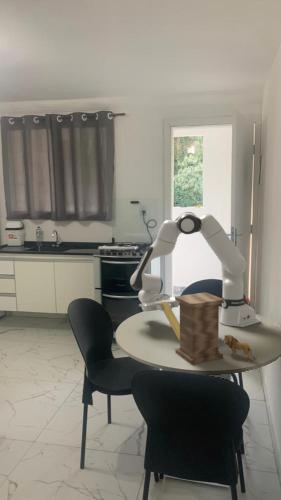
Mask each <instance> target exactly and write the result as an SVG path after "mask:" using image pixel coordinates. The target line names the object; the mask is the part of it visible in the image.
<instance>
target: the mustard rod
mask: <svg viewBox="0 0 281 500" xmlns="http://www.w3.org/2000/svg"><path fill="white" fill-rule="evenodd" d="M161 306H163V307H164V310H163V311H162V312H163V314H164V316H165V317H166V319H167V321H168V323H169V324H170V326H171V328H172V331H173V332H174V334H175V336H176V337H177V339H178V341H179V342H180V321H179V320H178V318H177V317H176V315H175V313H174V311H173V310H172V309H171V308H170V306H169V304H168V303H167V302H162V303H161Z"/></svg>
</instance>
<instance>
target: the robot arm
mask: <svg viewBox="0 0 281 500" xmlns="http://www.w3.org/2000/svg"><path fill="white" fill-rule="evenodd" d="M195 233H200V234H201V235H202V237H203V238H204V240H205V241H206V243H207V244H208V245H209V247H210V249H211V251H213V253H214V254H215V255H216V256H215V257H217V258H218V260H219V262H220V263H221V264H220V266H221V278H222V296H221V299H224V303H222V304H221V311H220V312H221V314H220V317H219V323H220V324H221V325H225V326H230V327H238V328H239V327H240V328H244V327H248V326H251V325H255V324H258V323H260V322H261V320H260V318H259V317H257V314H256V310H255V309H254V308H253V307H251V306H250V305H248V304H247V303H249V302H250V298H249V297H244V279H243V273H244V272H245V271H246V270H247V269H246V268H247V261H246V259H245V258H244V256H243V254H242V253H241V252H240V250H239V249H238V247H236V245H235V243H234V242H233V241H232V240H231V238H230V237H229V235H228V234H227V232H226V231H225V229H224V228H223V226H222V225H221V224H220V222H219V221H218V220H217V219H216V218H215V217H214V216H213V214H210V213H206V214H203V215H202V216H197V215H196V214H195V213H194V212H191V211H185V212H183V213H181V214H180V215H179V216H178V217H177V218H176V219H175V220H171V219H166V220H164V221H163V222H162V224H161V226H160V227H159V230H158V232H157V235H156V238H155V240H154V242H153V243H152V244H151V245H148V246H147V247H146V249H145V251H144V252H143V255H142V256H141V259H140V261H139V263H138V264H137V266H136V269H135V270H134V272H133V273H132V275H130V279H129V285H130V287H131V288H132V289H133V290H134V291H139V292H138V300H139V302H140V303H139V304H138V307H140V308H141V309H142V311H143V312H154V311H162V312H163V310H164V307H163V306H161V303H162V302H167V303H168V304H169V306H170V308H171V310H172V309H174V308H178V307H180V302H178V301H176V300H175V296H171V295H170V294H169V293H168V294H165V293H164V294H162V292H163V288H164V282H163V279H162V277H161V276H160V275H157V274H153V273H152V274H151V273H145V272H146V270H147V269H148V267H149V265H150V263H151V262H152V260H154V259H157V258H161V257H166V256H168V255H170V254H172V253H173V251H174V249H175V247H176V244H177V241H178V238H179V236H180V235H181V234H183V235H191V234H192V235H193V234H195ZM246 302H247V303H246Z"/></svg>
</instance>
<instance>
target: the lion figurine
mask: <svg viewBox="0 0 281 500" xmlns="http://www.w3.org/2000/svg"><path fill="white" fill-rule="evenodd" d="M223 338H224V340H223V343H224V345H226V346H227V347H228V349H231V352H232V354H230V356H231V357H235V355H236V354H237V351H238V352H244V355H245V358H247V361H248V362H251V360H252V359H253V360H254V361H256V360H257V358H255V357H254V356H253V355H254V354H253V352H252V349H251V346H250V344H248V343H246V342H245V343H243V342H240V341H239V339H237V338H236V337H234V336H233V335H231V334H226V335H224V337H223Z"/></svg>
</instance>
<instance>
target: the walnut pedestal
mask: <svg viewBox="0 0 281 500" xmlns="http://www.w3.org/2000/svg"><path fill="white" fill-rule="evenodd" d="M174 298H175V300H176V301H178V302H179V324H180V341H179V348H175V349H174V351H175V354H177V355H178V356H180V357H181V358H182V359H184V361H186V362H187V363H189V364H190V365H195V364H199V363H204V362H208V361H214V360H217V359H223V358H224V354H223V352H221V351H219V331H220V329H219V328H220V327H219V326H220V325H219V323H220V322H219V320H220V317H219V316H220V315H219V314H220V313H219V311H220V310H219V309H220V307H219V305H220V304H221V305H222V303H224V299H222V297H219V296H216V295H213V294H211V293H208V292H206V291H205V292H204V291H203V292H198V293H190V294H183V295H176V296H174Z"/></svg>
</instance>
